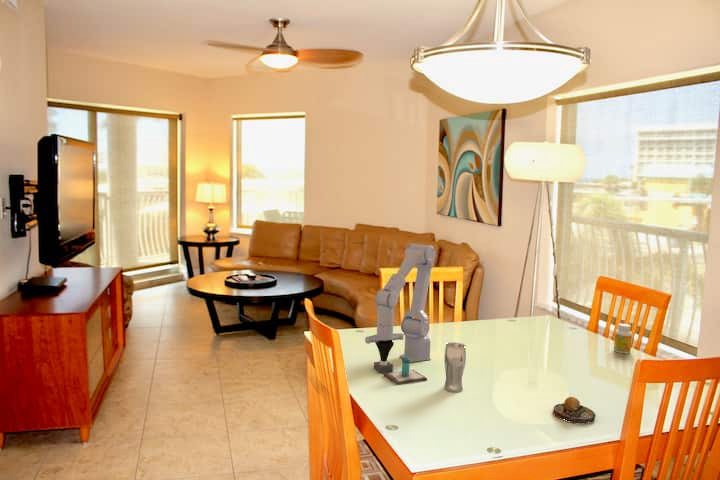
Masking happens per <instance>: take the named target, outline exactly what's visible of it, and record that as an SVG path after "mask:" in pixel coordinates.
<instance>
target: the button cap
mask: <svg viewBox="0 0 720 480" xmlns="http://www.w3.org/2000/svg"><path fill="white" fill-rule="evenodd" d="M379 361H380V365H381V366H382V365H387V363H388V362H389V361H388V359H387V361H385V362H383V361H381V359H380V360H379Z"/></svg>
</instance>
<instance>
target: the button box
mask: <svg viewBox="0 0 720 480" xmlns="http://www.w3.org/2000/svg"><path fill="white" fill-rule="evenodd" d="M373 370H374V371H376V372H377V373H379V374H382V375H383V374H386V373H393V372H394V364H392V363H391V362H389V361H388V363H387V365H382V366H381V365H380V360H379V361H374V362H373Z"/></svg>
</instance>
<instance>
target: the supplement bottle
mask: <svg viewBox="0 0 720 480" xmlns="http://www.w3.org/2000/svg"><path fill="white" fill-rule="evenodd" d="M630 330H631V324H627V323H618V325H617V329H616V330H615V333H614V346H613V351H614V352H616V353H619V354H630V352H631V350H632V349H631V348H632V340H633V339H632V338H633V333H632V331H630Z"/></svg>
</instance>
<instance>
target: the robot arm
mask: <svg viewBox="0 0 720 480" xmlns="http://www.w3.org/2000/svg"><path fill="white" fill-rule="evenodd" d="M404 252H405V253H404V259H403V261H402V263H401V265H400V266H399V268H398V270H397V272H396V273H393V274H391V275H390V277H389V279H388V281H387V282H386V283H385V285H384V287H383V288H382V289H380V290H378V291H377V292H376V294H375V297H374V303H375V307H376V308H375V309H376V310H377V321H376V322H377V323H376V334H373V335H370V336H365V338H364V342H365V343H366V344H367V345H368V344H371V343H375V345H376V347H377V349H378V353H379V359H380V360H381V361H383V362H385V361H387V360H388V358H389V355H390V352H391V350H392V348H393V347H394V345H395V343H394V341H398V340H399V341H404V354H399V357H401V358H403V357H408V358H410V363H414V362H422V361H430V360H432V358H431V339H430V337H429V335H428V334H429V332H430V317H429V316H428V315H427V313H426V312H425V308H426V303H427V298H428V297H427V296H428V292H429V291H428V290H429V285H430V282H431V281H430V279H431V274H432V269H433V268H434V267H435V266H434V265H435V261H436V256H437V255H436V254H437V252H436V250H435V247H433V245H431V244H430V245H426V244H419V243H414V242H410V243H408V245H407V247H406V249H405V251H404ZM414 267H416V269H417V271H416V276H415V281H414V288H413V293H412V297H411V305H410V309H409V310H408V311H406V312H404V313H403V318H402V320H401V323H400V330H401V332H402V333H394V319H395V318H394V315H395V313H394V312H395V307H396V306H397V304H398V302H399V298H400V292H401V291H402V290H403V288H404V287H405V285H406V277H407V276H408V275H409V274H410V272H411V271H412V270H413V268H414Z"/></svg>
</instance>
